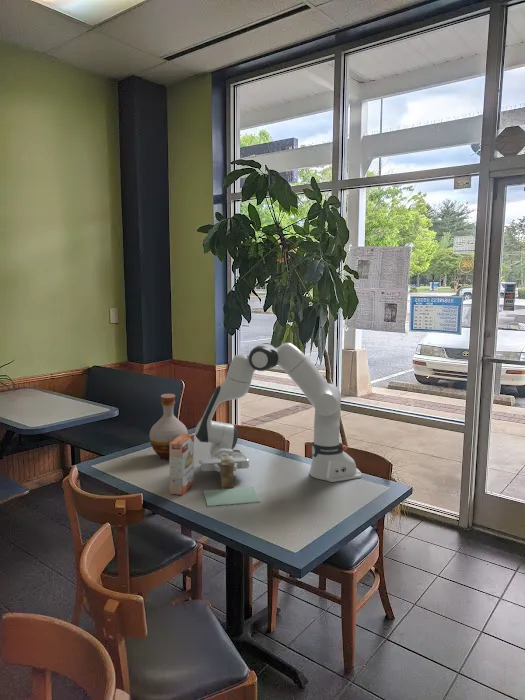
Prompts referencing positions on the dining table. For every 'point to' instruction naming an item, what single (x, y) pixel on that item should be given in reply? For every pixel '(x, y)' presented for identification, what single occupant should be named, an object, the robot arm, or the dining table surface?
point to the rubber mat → (231, 496)
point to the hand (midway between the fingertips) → (227, 469)
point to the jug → (166, 428)
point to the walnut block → (227, 471)
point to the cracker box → (181, 463)
